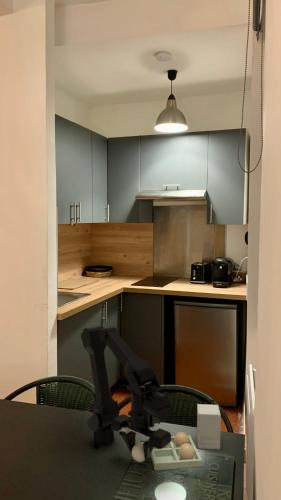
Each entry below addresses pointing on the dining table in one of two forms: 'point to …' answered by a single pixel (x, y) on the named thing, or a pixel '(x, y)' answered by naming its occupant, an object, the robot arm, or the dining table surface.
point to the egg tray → (174, 457)
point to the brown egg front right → (186, 452)
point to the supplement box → (208, 426)
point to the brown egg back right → (181, 439)
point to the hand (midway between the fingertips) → (140, 458)
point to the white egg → (138, 452)
